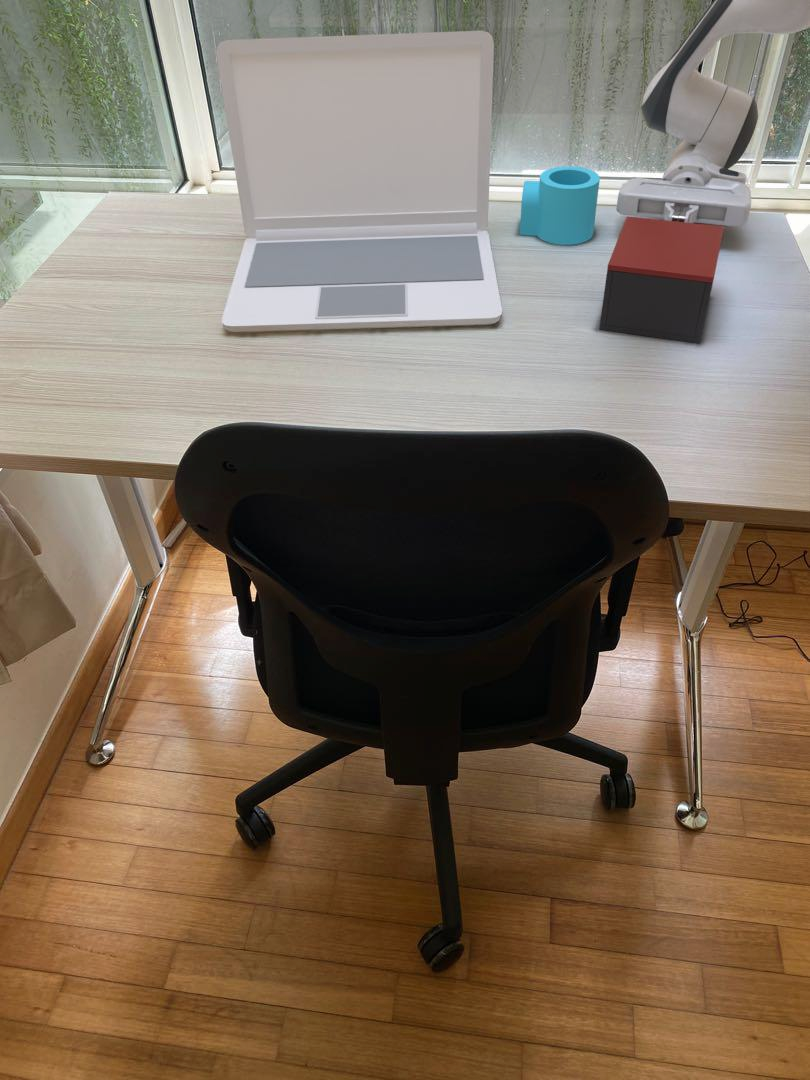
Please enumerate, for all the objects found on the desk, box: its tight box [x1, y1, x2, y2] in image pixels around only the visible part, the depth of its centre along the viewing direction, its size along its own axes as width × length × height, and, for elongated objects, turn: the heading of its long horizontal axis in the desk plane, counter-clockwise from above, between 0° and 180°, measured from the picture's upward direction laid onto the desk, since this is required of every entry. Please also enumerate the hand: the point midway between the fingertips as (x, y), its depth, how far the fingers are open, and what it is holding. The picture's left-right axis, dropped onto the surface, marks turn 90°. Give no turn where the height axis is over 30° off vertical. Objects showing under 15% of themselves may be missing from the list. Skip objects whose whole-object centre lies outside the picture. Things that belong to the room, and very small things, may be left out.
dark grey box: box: [598, 269, 714, 344], centre depth 122 cm, size 14×14×9 cm
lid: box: [606, 215, 725, 284], centre depth 120 cm, size 16×14×1 cm
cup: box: [519, 165, 601, 246], centre depth 143 cm, size 12×9×9 cm
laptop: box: [215, 30, 503, 333], centre depth 124 cm, size 40×31×31 cm
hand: (677, 222), depth 133 cm, fingers closed
